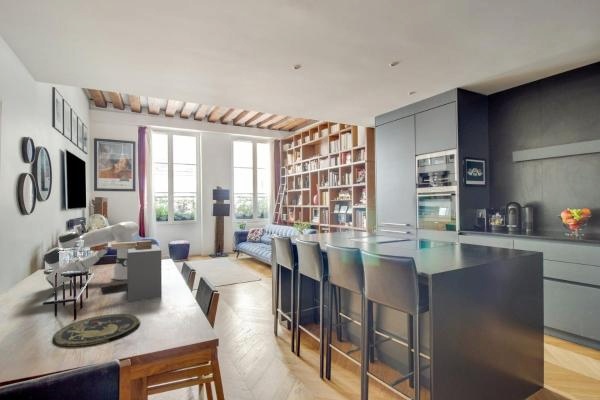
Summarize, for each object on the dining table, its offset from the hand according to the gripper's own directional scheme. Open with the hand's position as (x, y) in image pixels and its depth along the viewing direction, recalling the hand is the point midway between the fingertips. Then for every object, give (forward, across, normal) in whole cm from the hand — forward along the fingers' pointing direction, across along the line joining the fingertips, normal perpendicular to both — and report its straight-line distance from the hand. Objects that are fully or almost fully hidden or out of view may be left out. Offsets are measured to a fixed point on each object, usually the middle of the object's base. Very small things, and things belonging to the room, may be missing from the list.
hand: (106, 250), depth 176 cm
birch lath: (+11, -1, -6) cm, 12 cm away
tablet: (-4, -14, -28) cm, 31 cm away
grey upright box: (+3, +6, -31) cm, 32 cm away
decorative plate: (-14, +55, -22) cm, 61 cm away
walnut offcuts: (+16, +6, -9) cm, 19 cm away
